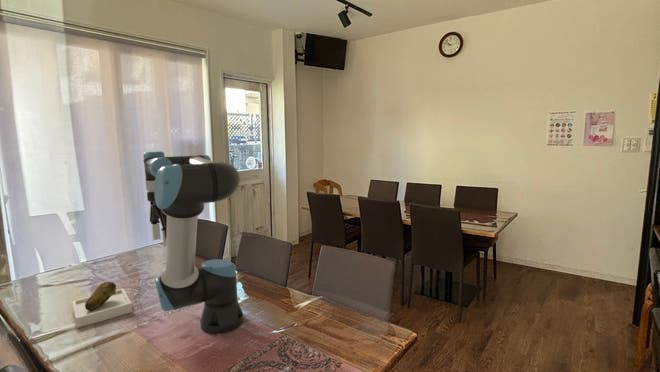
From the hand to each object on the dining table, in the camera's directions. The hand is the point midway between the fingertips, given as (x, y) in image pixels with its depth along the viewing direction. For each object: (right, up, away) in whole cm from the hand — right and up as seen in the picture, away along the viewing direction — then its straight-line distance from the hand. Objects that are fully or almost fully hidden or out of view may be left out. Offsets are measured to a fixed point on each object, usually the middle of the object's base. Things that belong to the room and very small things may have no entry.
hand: (162, 242), depth 145 cm
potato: (-23, -24, -3) cm, 34 cm away
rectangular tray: (-23, -27, -2) cm, 35 cm away
